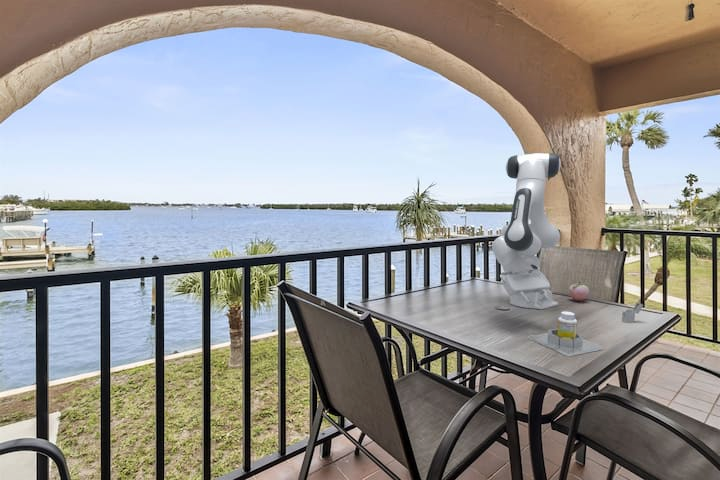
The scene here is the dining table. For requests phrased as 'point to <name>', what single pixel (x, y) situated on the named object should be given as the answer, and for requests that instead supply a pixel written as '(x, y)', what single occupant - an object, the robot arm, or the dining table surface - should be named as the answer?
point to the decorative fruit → (578, 291)
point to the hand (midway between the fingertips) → (537, 301)
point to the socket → (565, 343)
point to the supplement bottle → (567, 325)
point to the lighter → (631, 314)
